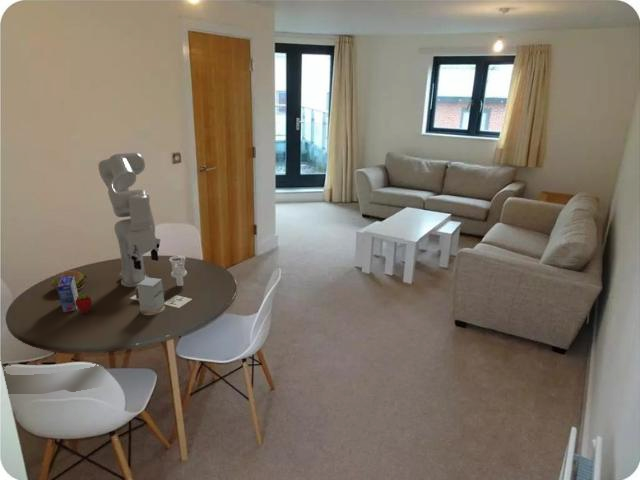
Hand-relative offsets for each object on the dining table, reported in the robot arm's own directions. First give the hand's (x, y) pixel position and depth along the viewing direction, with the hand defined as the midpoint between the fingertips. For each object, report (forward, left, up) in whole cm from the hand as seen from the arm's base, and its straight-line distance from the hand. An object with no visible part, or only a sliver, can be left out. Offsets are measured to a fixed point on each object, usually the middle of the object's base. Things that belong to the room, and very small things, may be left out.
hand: (146, 264), depth 180 cm
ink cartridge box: (-34, -12, -21) cm, 42 cm away
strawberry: (-23, -14, -21) cm, 34 cm away
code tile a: (+5, +10, -21) cm, 24 cm away
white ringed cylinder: (-5, +24, -21) cm, 32 cm away
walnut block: (-12, +8, -21) cm, 25 cm away
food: (-49, 0, -21) cm, 53 cm away
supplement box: (0, 0, -21) cm, 21 cm away
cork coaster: (0, 0, -21) cm, 21 cm away
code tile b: (-12, +8, -21) cm, 25 cm away
